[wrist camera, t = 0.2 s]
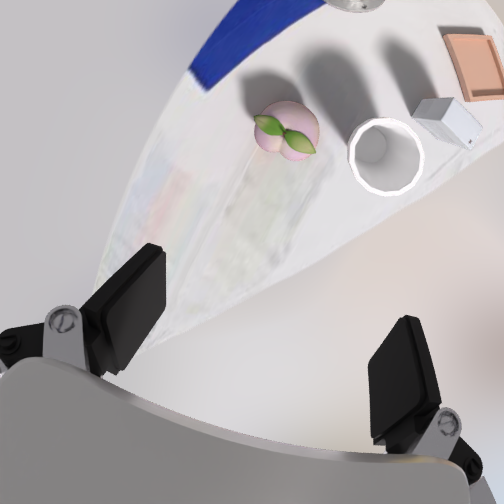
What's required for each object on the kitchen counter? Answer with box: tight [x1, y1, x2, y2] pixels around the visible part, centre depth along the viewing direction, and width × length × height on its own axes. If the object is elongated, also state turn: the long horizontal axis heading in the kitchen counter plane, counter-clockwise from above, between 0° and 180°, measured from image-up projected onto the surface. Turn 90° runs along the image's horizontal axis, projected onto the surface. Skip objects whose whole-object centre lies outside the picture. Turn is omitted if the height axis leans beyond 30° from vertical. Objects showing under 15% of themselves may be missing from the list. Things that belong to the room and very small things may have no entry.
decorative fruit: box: [254, 101, 319, 161], centre depth 35 cm, size 9×8×10 cm
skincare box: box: [412, 97, 483, 150], centre depth 28 cm, size 6×4×12 cm
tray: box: [443, 34, 504, 102], centre depth 24 cm, size 12×11×2 cm
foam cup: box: [347, 117, 424, 197], centre depth 33 cm, size 10×9×13 cm
